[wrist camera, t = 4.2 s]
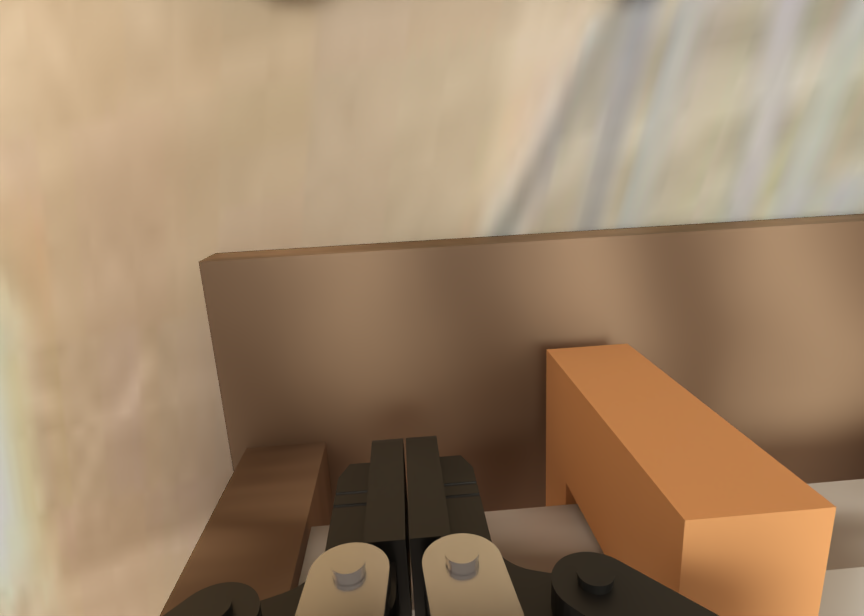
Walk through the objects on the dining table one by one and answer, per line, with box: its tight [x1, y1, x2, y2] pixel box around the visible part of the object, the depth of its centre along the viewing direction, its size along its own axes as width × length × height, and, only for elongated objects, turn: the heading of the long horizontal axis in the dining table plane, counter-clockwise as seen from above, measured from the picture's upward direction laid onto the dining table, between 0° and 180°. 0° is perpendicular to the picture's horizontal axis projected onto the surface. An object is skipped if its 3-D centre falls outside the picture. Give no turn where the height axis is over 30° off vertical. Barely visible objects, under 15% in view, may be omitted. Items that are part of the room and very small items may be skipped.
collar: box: [546, 344, 836, 616], centre depth 13 cm, size 2×10×8 cm, turn 3°
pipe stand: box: [160, 214, 864, 616], centre depth 15 cm, size 28×16×10 cm, turn 93°
